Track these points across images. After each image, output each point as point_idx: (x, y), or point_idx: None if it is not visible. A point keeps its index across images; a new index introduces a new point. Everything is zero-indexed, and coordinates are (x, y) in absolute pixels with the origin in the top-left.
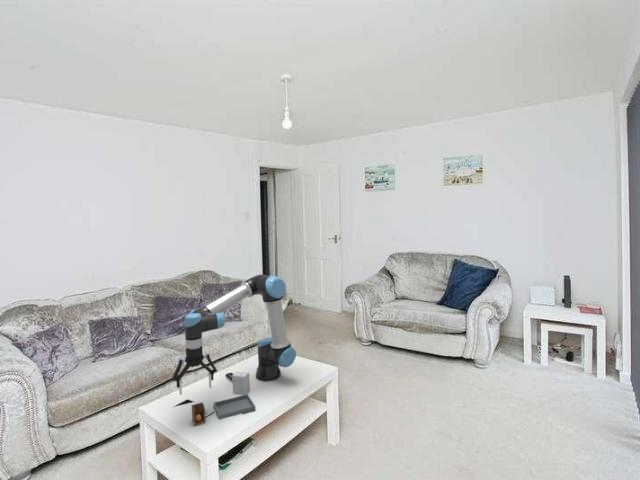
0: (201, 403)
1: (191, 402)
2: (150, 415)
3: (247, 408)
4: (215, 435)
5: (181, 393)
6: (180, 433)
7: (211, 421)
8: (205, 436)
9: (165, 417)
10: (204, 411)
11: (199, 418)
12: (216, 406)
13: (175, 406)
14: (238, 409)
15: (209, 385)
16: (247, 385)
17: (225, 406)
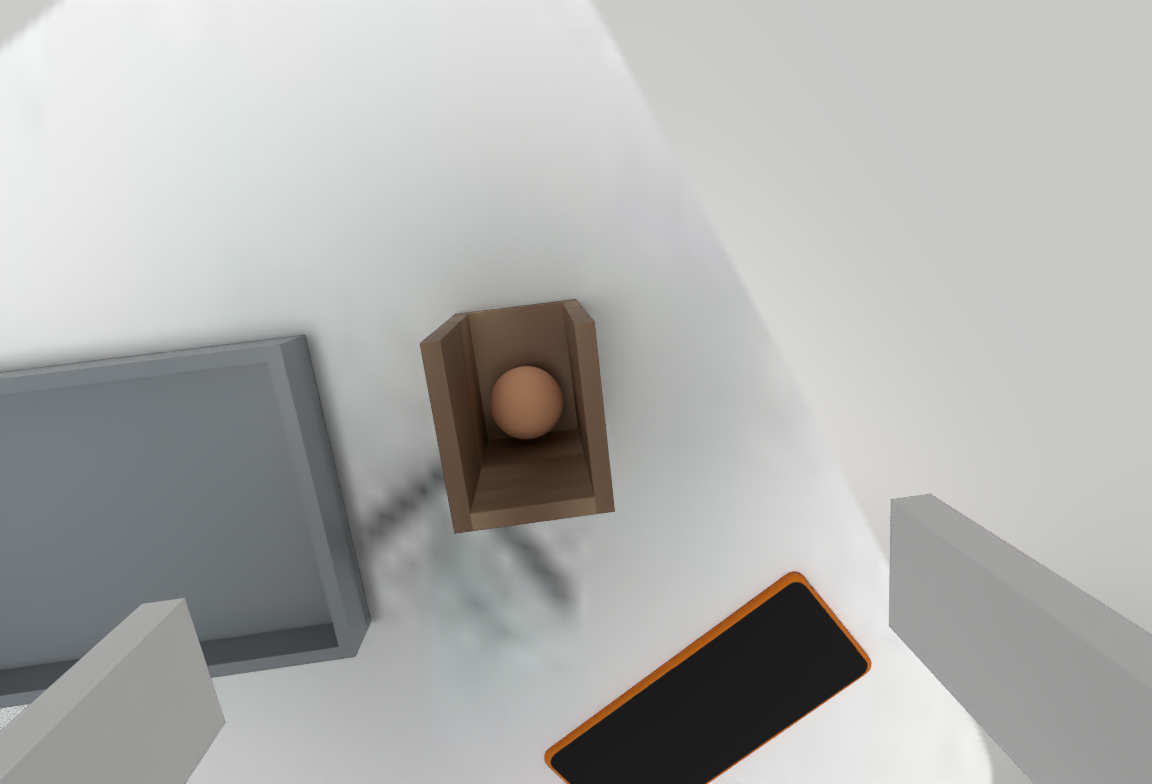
0: (473, 512)
1: (590, 772)
2: None
3: None
4: (345, 26)
5: (918, 512)
6: (716, 242)
7: (393, 351)
8: (460, 58)
9: (833, 595)
10: (437, 335)
11: (516, 370)
12: (318, 563)
13: (738, 745)
14: (73, 468)
15: (176, 694)
16: None
17: (234, 582)
